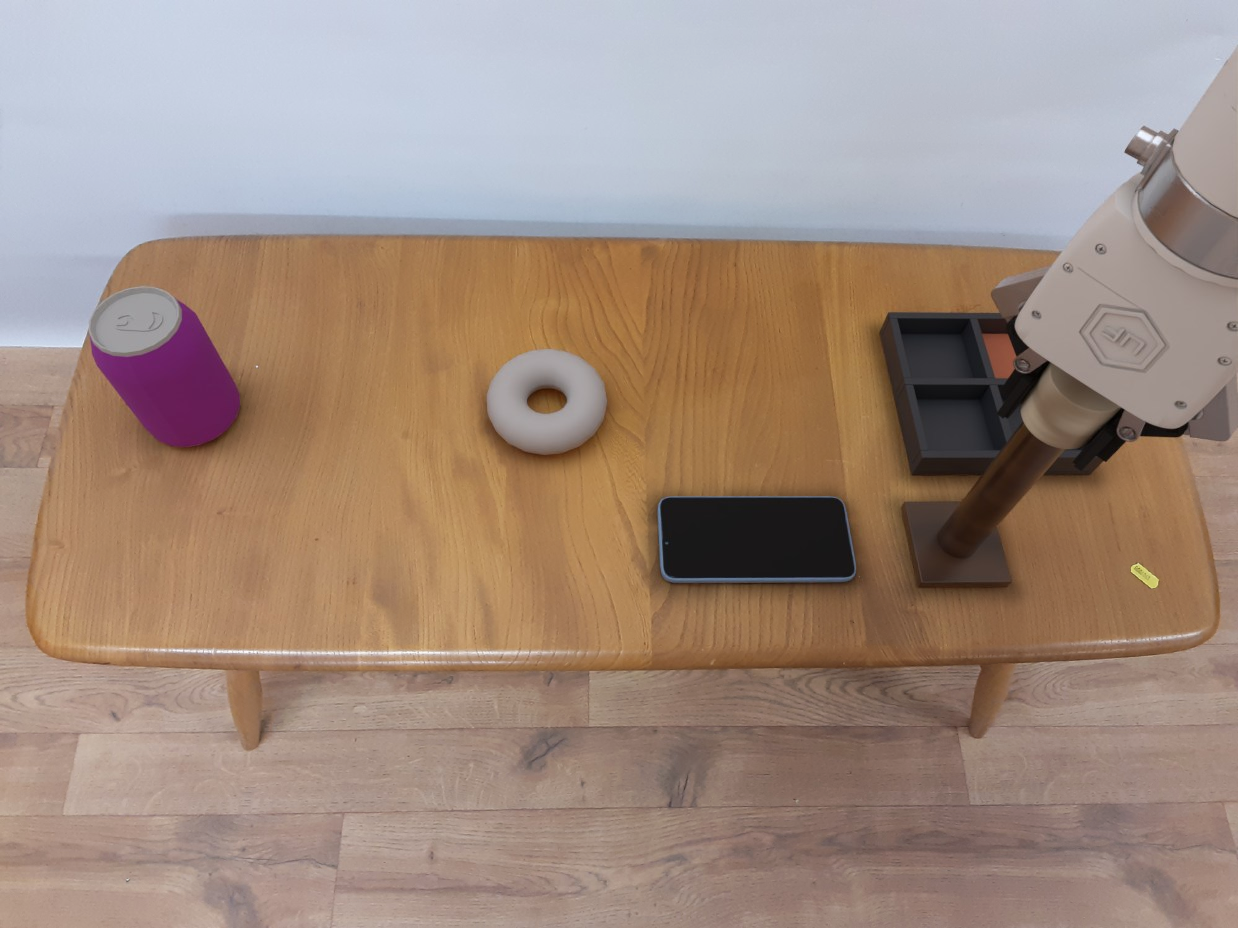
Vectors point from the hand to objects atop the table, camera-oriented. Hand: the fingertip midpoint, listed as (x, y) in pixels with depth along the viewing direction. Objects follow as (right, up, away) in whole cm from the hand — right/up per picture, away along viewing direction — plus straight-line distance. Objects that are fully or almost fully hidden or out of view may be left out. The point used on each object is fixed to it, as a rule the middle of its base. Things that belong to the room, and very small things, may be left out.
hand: (1050, 427), depth 55 cm
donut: (-33, +2, +20) cm, 38 cm away
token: (0, +1, -1) cm, 1 cm away
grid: (+5, +3, +22) cm, 23 cm away
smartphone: (-16, -8, +14) cm, 23 cm away
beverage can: (-62, +2, +18) cm, 64 cm away
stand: (-1, -9, +15) cm, 17 cm away
